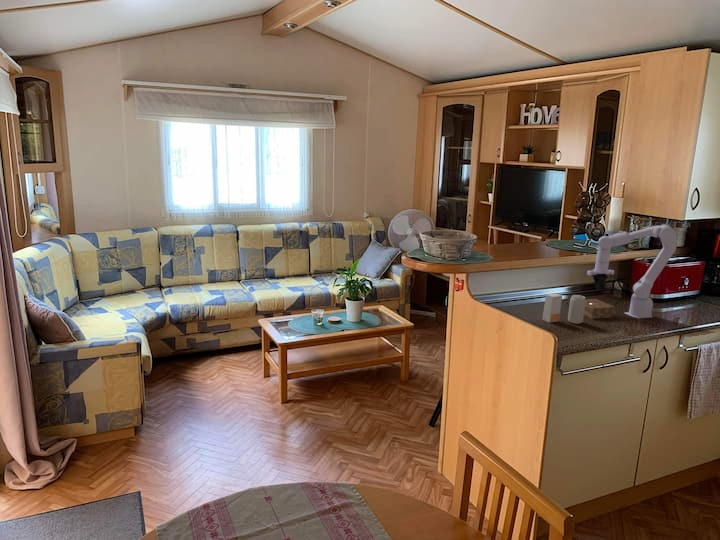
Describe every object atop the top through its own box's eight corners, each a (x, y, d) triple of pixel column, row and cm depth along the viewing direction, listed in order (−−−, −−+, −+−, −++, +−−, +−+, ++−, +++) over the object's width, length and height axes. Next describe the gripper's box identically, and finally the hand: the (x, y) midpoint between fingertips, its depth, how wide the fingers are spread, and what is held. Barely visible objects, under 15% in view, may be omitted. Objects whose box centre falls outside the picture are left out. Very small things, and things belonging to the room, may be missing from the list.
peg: (593, 309, 263) (594, 302, 262) (600, 312, 259) (601, 304, 258) (585, 310, 262) (587, 302, 261) (592, 312, 258) (593, 305, 257)
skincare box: (549, 323, 243) (552, 296, 241) (541, 320, 247) (545, 294, 244) (559, 321, 246) (562, 295, 243) (551, 318, 250) (555, 293, 247)
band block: (593, 308, 269) (595, 299, 268) (613, 317, 257) (615, 306, 256) (571, 310, 264) (573, 300, 263) (591, 318, 253) (593, 308, 251)
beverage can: (583, 325, 243) (587, 299, 240) (568, 323, 244) (572, 297, 241) (581, 320, 249) (584, 295, 246) (566, 319, 250) (569, 293, 247)
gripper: (608, 259, 268) (603, 286, 271) (584, 260, 263) (580, 287, 266) (619, 262, 261) (614, 290, 264) (595, 263, 256) (590, 291, 259)
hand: (598, 289), depth 265 cm, fingers closed
